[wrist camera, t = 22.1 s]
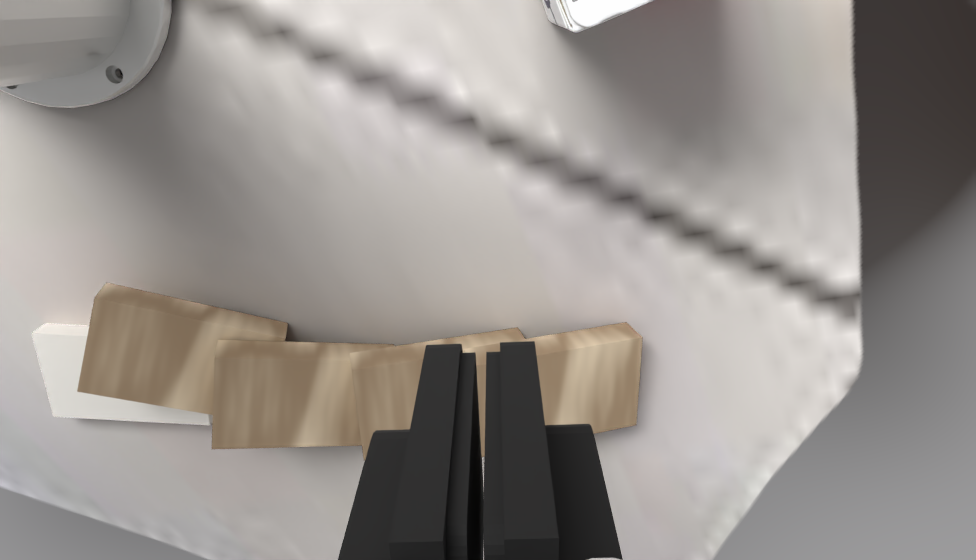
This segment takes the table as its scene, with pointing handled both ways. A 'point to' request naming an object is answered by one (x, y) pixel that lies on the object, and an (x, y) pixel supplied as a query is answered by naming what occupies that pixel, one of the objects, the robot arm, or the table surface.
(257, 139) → the table surface
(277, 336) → the domino
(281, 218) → the table surface
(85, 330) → the cream domino
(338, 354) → the domino
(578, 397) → the domino
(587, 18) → the ink box
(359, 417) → the domino
